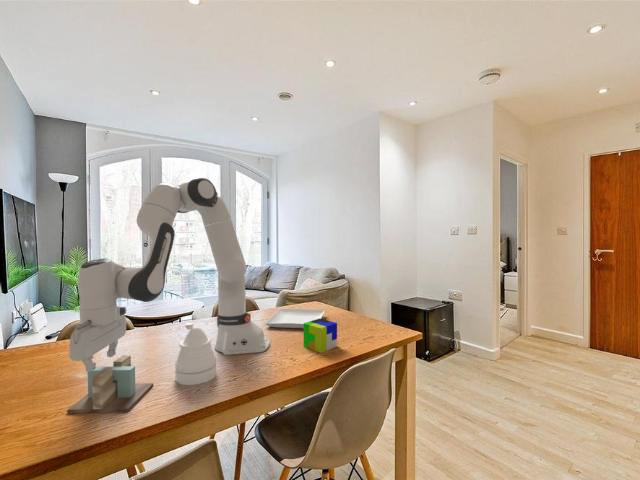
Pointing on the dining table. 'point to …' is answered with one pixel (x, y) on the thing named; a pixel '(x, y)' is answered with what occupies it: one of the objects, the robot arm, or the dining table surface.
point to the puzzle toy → (320, 335)
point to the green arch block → (123, 377)
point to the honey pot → (195, 358)
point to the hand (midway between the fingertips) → (101, 362)
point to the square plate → (293, 318)
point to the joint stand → (109, 393)
